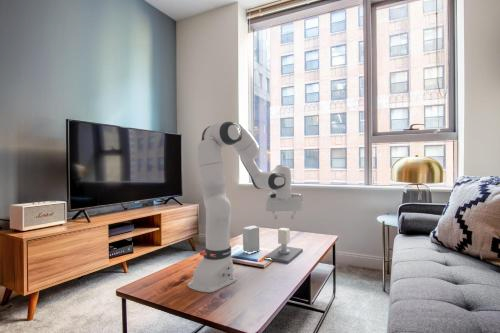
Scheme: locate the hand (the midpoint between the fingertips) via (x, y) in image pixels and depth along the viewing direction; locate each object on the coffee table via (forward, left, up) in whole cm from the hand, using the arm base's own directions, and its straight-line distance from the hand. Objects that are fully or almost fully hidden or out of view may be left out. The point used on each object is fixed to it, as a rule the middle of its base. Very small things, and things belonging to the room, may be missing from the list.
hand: (284, 218), depth 162 cm
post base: (0, 0, -21) cm, 21 cm away
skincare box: (-4, +19, -21) cm, 29 cm away
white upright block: (0, 0, -14) cm, 14 cm away
